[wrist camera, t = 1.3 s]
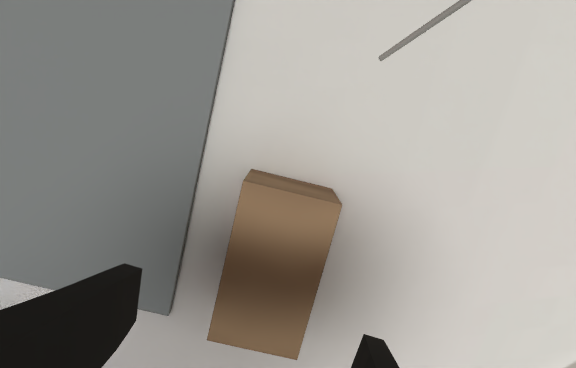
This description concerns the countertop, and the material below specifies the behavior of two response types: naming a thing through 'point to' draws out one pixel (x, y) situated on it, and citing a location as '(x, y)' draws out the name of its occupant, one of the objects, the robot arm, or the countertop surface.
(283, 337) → the card box
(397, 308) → the countertop surface
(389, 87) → the countertop surface
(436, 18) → the sign
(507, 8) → the countertop surface
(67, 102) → the mat
